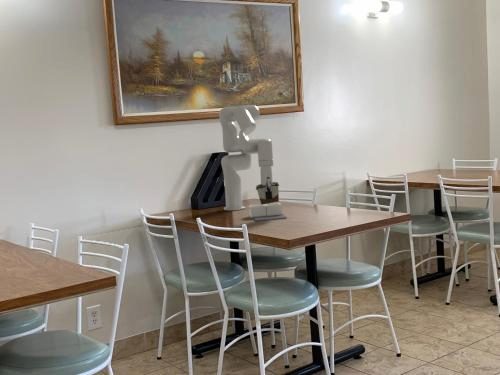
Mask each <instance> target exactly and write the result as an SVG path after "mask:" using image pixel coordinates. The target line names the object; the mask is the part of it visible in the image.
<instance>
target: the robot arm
mask: <svg viewBox="0 0 500 375" xmlns="http://www.w3.org/2000/svg"><path fill="white" fill-rule="evenodd" d="M218 114H219V115H218V118H219V122H220V126H221V129H222V130H221V131H222V145H223V151H224V152H225V153H228V154H227V155H225V156H223V157H222V158H221V162H220V163H221V168H222V172H223V181H224V182H223V183H224V194H225V195H224V196H225V206H224V207H223V210H224V211H240V210H244V208H245V209H246V205H243V197H242V195H243V194H242V182H241V176H240V175H239V173H238V171H246V170H249V169H250V168H251V167H252V155H255V154H257V159H258V167H259V170H260V172H259V173H260V184H261V185H263V186H264V185H265V187H266V192H265V193H266V199H272V191H271V185H272V182H273V171H272V167H274V159H273V158H274V156H273V142H272V140H271V139H269V138H268V139H266V138H256V139H250V138H249V137H248V136H249V135H250V134H252V133H254V131H255V130H256V128H257V124H256V122H255V121H257V120H258V119H260V115H261V114H260V109H259V107H258V106H256V105H255V104H247V105H245V104H244V105H234V106H232V105H231V106H225V107H222V108H221V109H220V110H219V113H218ZM235 122H236V123H235ZM236 124H237V125H238V126H239V129H240V130H239V132H238V127H237V125H236ZM230 153H238V154H230Z"/></svg>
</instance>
